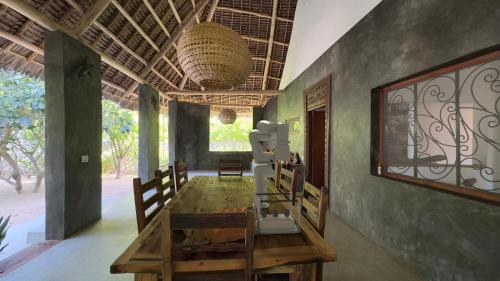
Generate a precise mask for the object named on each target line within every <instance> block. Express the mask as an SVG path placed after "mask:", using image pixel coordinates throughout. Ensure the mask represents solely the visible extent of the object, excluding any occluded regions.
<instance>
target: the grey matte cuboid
mask: <svg viewBox="0 0 500 281" xmlns="http://www.w3.org/2000/svg"><path fill="white" fill-rule="evenodd" d="M283 214H284V216H289V208H288V209H287V208H286V209H283Z"/></svg>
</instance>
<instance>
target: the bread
mask: <svg viewBox="0 0 500 281" xmlns="http://www.w3.org/2000/svg"><path fill="white" fill-rule="evenodd" d="M247 207H248V206H244V207H242V206H238V207H237V208H236V207H234V206H233V207H228V208H227V209H226V208H220V209H219V210H214V211H212V213H222V212H245V211H246V210H247ZM256 235H257V228H256V222H255V221H254V236H253V237H255V236H256ZM205 238H206V240H208V241H209V244H213V245H218V244H217V243H222V244H224V243H229V242H235V241H238V240H241V239H244V240H245V239H246V238H245V228H224V229H205Z"/></svg>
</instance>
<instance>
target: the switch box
mask: <svg viewBox="0 0 500 281" xmlns="http://www.w3.org/2000/svg"><path fill="white" fill-rule="evenodd" d="M266 215H267V217H261V214H260V230H282V229H294V224H295V219H294V218H293V216H292V217H291V215H290V214H289V216H284V213H278V217H273V213H272V214H270V213H269V214H266Z"/></svg>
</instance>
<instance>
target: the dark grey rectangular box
mask: <svg viewBox="0 0 500 281" xmlns="http://www.w3.org/2000/svg"><path fill="white" fill-rule="evenodd" d="M272 214H273V217H278V214H279V212H278V209H272Z"/></svg>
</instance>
